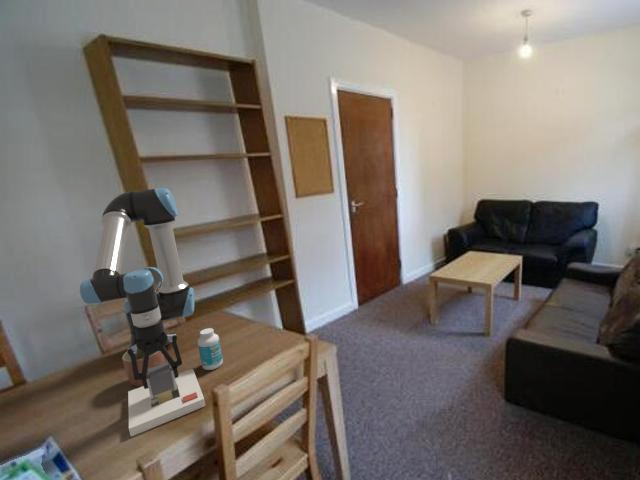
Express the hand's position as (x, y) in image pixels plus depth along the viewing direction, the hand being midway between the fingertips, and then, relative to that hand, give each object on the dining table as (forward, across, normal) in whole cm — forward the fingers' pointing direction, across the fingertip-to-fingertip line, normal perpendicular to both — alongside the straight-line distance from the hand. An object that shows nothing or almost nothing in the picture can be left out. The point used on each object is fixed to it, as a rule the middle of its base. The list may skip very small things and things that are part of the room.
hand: (163, 391), depth 106 cm
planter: (+4, -4, +18) cm, 19 cm away
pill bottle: (+4, +17, +12) cm, 21 cm away
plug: (+2, 0, 0) cm, 2 cm away
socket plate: (+4, 0, 0) cm, 4 cm away
